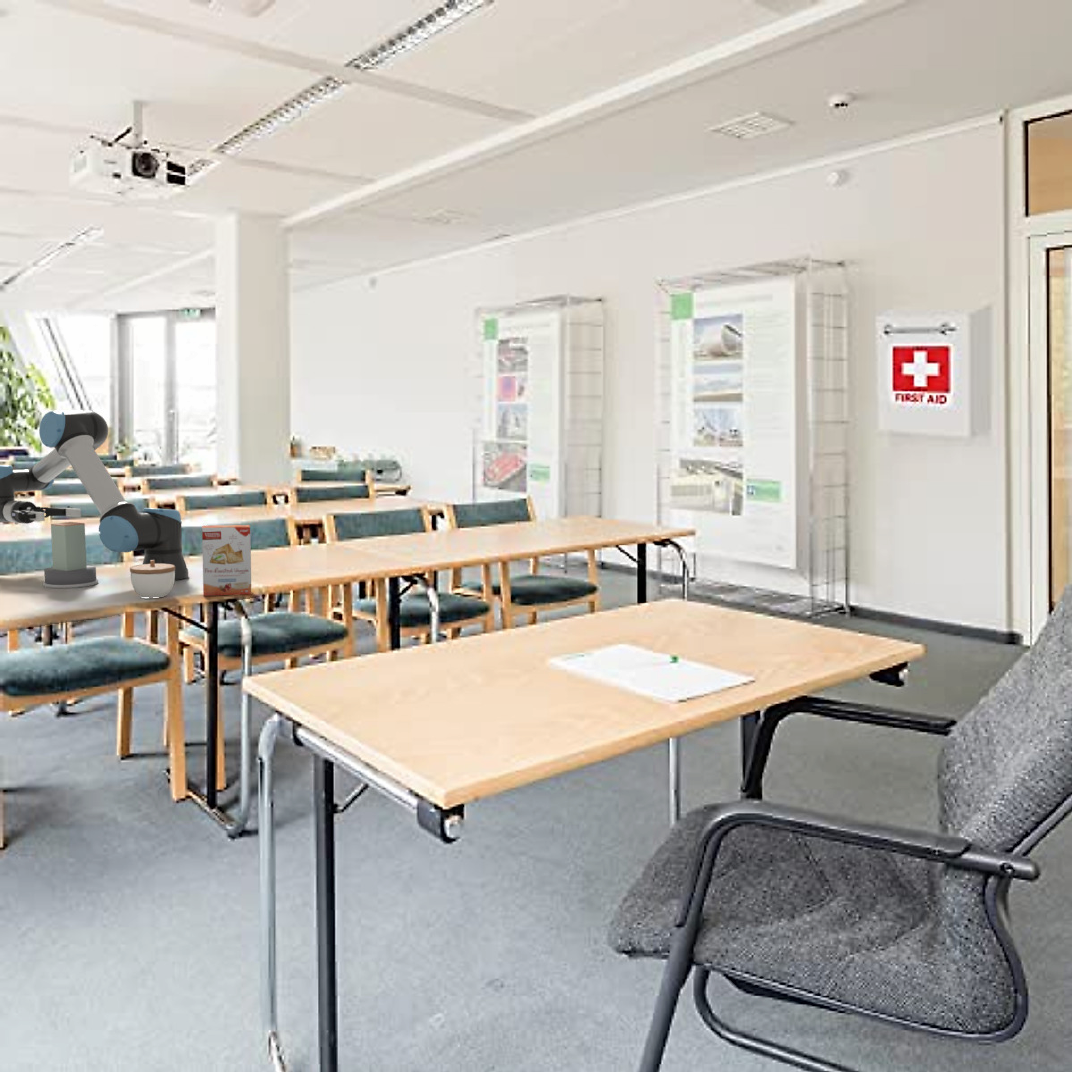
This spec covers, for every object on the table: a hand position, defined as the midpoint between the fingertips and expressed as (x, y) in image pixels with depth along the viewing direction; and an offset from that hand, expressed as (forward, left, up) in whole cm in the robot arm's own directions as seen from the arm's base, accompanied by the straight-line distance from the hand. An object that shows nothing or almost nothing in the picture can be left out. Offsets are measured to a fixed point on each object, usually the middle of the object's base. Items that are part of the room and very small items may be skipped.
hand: (62, 514), depth 345 cm
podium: (-15, +9, -21) cm, 27 cm away
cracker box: (-70, -5, -21) cm, 73 cm away
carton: (-15, +9, -16) cm, 23 cm away
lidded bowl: (-55, +10, -21) cm, 60 cm away
